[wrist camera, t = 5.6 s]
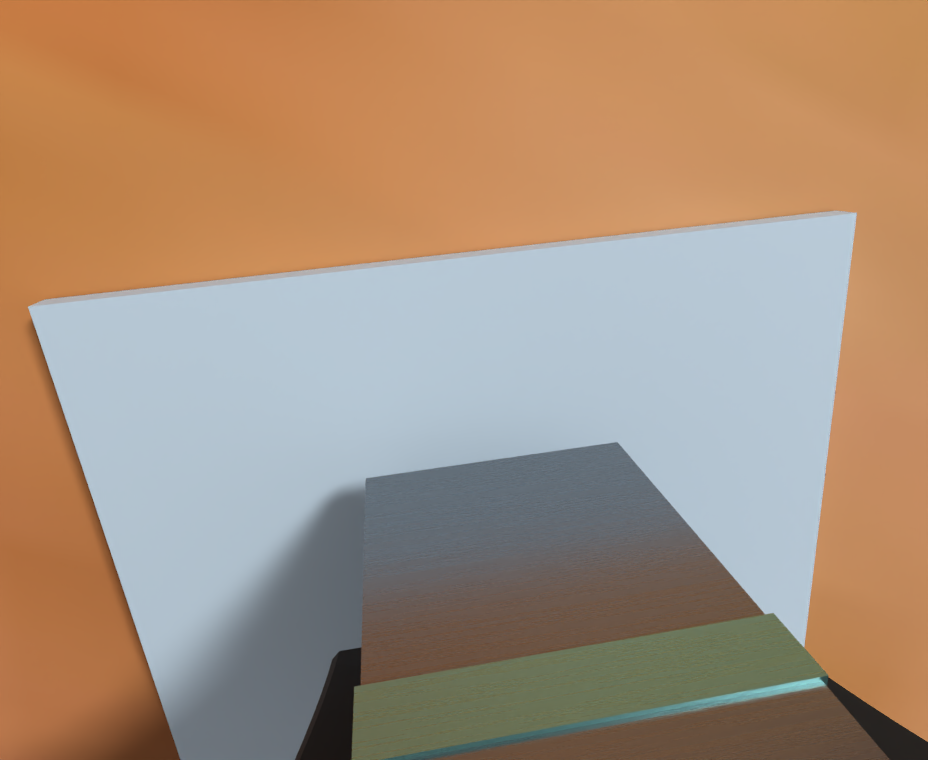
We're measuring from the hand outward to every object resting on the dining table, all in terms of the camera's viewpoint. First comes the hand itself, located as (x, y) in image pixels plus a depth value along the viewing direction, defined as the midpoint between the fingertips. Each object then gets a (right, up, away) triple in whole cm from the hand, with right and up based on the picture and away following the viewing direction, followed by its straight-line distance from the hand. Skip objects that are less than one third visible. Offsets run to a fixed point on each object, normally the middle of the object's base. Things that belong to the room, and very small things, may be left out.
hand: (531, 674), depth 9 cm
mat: (0, +1, +3) cm, 3 cm away
